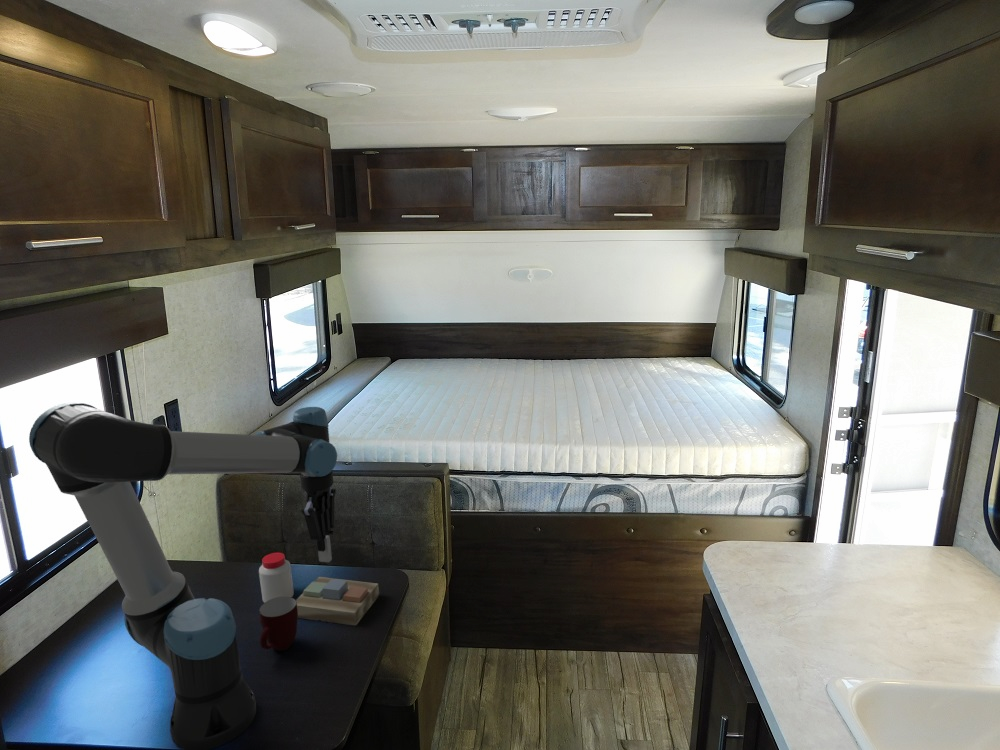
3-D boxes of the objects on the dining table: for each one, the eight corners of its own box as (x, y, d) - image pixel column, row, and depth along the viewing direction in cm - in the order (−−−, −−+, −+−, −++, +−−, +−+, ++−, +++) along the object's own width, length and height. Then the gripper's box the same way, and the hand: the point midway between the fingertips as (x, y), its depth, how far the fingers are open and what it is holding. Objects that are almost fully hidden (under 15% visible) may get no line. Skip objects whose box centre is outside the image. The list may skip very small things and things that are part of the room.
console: (355, 625, 151) (354, 612, 150) (292, 617, 155) (291, 604, 154) (379, 595, 163) (378, 583, 162) (320, 588, 167) (318, 576, 167)
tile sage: (320, 603, 158) (319, 592, 157) (304, 601, 159) (303, 590, 158) (329, 593, 162) (328, 583, 161) (313, 592, 163) (312, 581, 162)
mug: (285, 665, 138) (280, 625, 135) (251, 663, 139) (245, 622, 137) (307, 635, 148) (302, 597, 146) (275, 633, 149) (270, 595, 147)
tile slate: (339, 601, 156) (338, 590, 155) (323, 599, 157) (322, 588, 156) (348, 591, 160) (347, 580, 159) (332, 589, 161) (331, 578, 160)
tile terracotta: (360, 608, 155) (359, 597, 154) (344, 606, 156) (343, 595, 155) (368, 598, 159) (367, 587, 158) (352, 596, 160) (351, 586, 159)
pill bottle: (261, 592, 166) (256, 554, 164) (291, 585, 170) (287, 547, 167) (263, 607, 160) (258, 568, 157) (295, 599, 163) (291, 560, 160)
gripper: (316, 482, 145) (326, 575, 150) (342, 462, 157) (351, 548, 162) (287, 480, 146) (298, 572, 152) (315, 460, 159) (324, 546, 164)
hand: (325, 560), depth 157 cm, fingers closed
